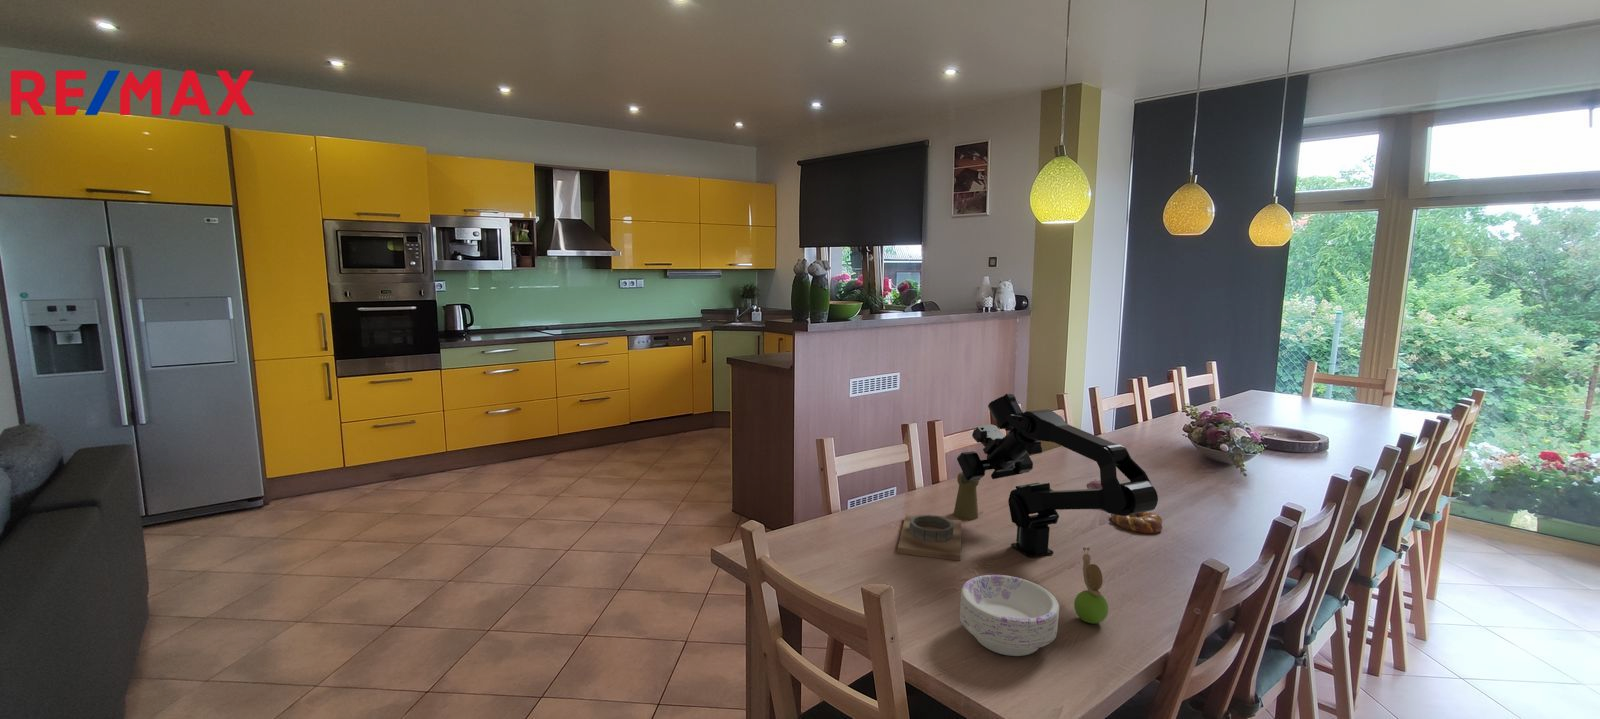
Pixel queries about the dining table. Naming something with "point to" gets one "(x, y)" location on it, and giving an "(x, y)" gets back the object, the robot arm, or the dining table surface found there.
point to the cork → (966, 500)
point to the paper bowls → (1009, 614)
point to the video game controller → (1094, 485)
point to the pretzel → (1139, 522)
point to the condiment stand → (931, 537)
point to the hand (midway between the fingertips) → (977, 479)
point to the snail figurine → (1091, 594)
